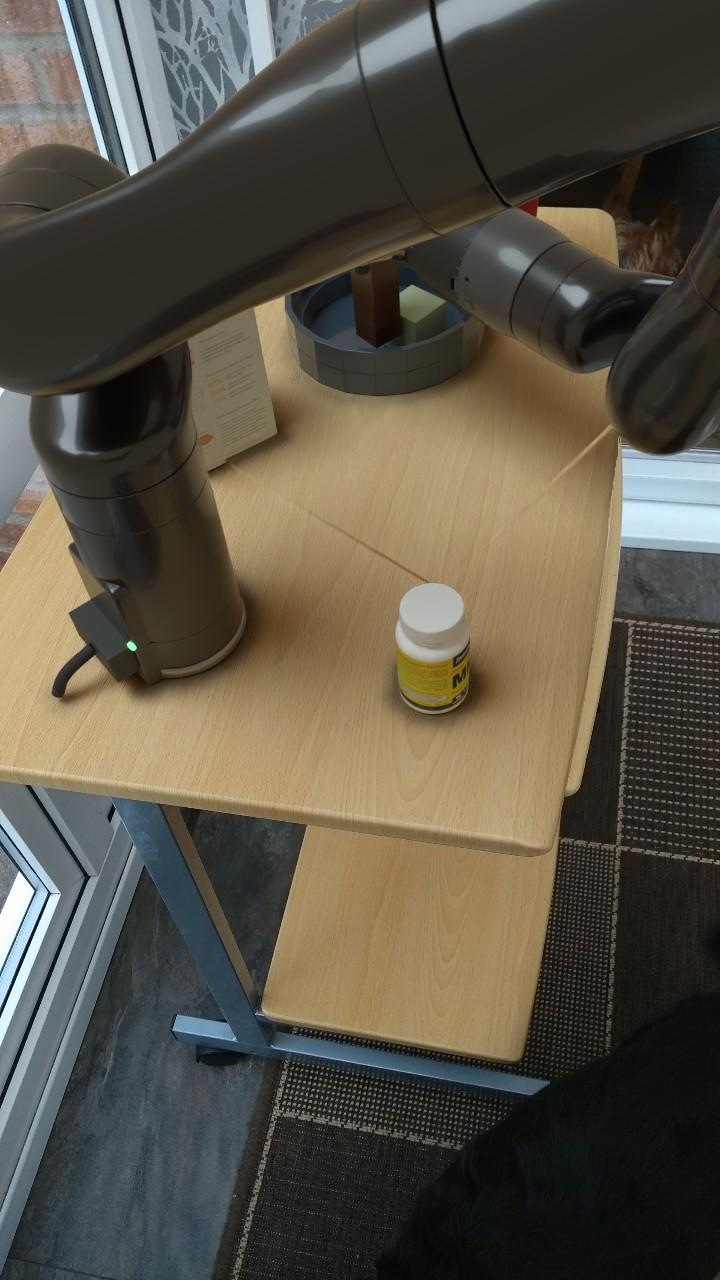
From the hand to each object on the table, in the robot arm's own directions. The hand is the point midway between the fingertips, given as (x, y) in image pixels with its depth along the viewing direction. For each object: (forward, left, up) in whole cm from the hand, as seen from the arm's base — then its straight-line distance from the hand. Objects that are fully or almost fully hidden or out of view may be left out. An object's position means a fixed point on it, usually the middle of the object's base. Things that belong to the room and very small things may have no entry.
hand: (345, 176), depth 79 cm
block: (+4, -3, -15) cm, 16 cm away
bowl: (+3, 0, -16) cm, 16 cm away
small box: (-16, -1, -16) cm, 23 cm away
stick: (0, -3, -13) cm, 13 cm away
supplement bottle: (-19, -32, -16) cm, 41 cm away
